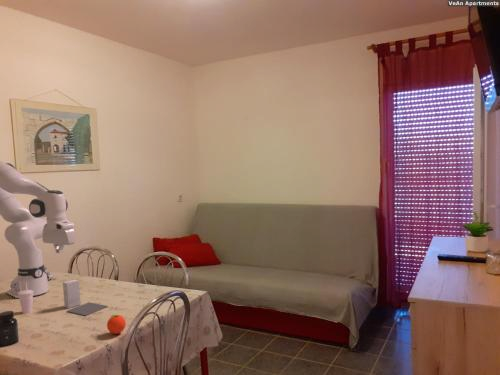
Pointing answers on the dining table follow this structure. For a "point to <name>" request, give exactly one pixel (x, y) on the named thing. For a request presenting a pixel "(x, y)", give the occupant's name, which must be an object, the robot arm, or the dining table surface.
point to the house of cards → (48, 274)
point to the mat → (87, 309)
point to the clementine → (116, 324)
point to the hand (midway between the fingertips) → (59, 252)
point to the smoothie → (26, 300)
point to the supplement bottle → (8, 329)
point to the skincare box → (71, 293)
